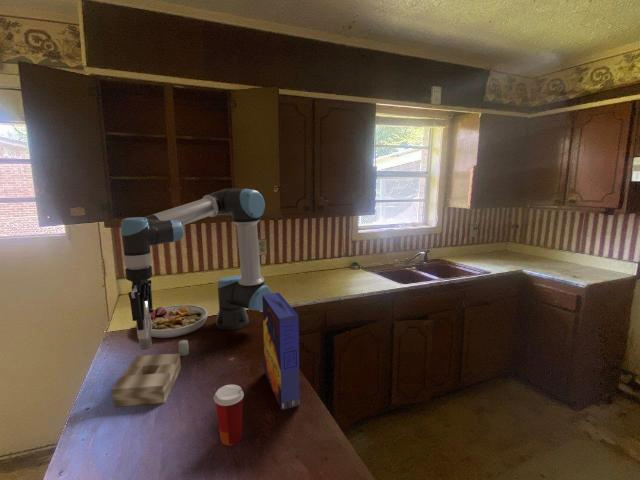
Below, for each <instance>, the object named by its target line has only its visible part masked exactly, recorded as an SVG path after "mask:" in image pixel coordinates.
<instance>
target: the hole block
mask: <svg viewBox="0 0 640 480" xmlns="http://www.w3.org/2000/svg"><path fill="white" fill-rule="evenodd" d="M181 368H182V365H181V356H180V353H179V352H178V353H167V354H166V353H165V354H150V355H136V356H135V358H134V359H133V360H132V361H131V363H130V364H129V366H128V367H127V368H126V369H125V371H124V372H123V373H122V374H121V376H120V377H119V379H118V380H117V382H116V383H115V384H114V386H113V387H112V388H111V395H112V396H111V397H112V402H113V404H112V405H113V407H114V408H117V407H127V406H129V407H130V406H139V405H140V406H141V405H144V406H145V405H153V404H155V405H156V404H163V403H164V404H165V403H166V400H167V399H168V396H169V395H170V392H171V390H172V389H173V386H174V384H175V383H176V379H177V378H178V375H179V373H180V372H181V370H182V369H181Z"/></svg>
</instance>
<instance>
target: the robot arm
mask: <svg viewBox="0 0 640 480" xmlns="http://www.w3.org/2000/svg"><path fill="white" fill-rule="evenodd" d="M265 208H266V204H265V199H264V196H263V195H262V194H261V193H260V192H259V190H256V189H251V188H225V189H222V190H218V191H214V192H212V193H209V194H206V195H204V196H202V198H200V199H198V200H195V201H192V202H191V201H190V202H188V203H185V204H182V205H179V206H175V207H172V208H169V209H166V210H163V211H160V212H157V213H153V214H150V215H146V216H144V217H141V216H139V217H126V218H123V219H122V220H121V221H120V236H121V240H122V241H121V243H122V249H123V257H122V259H123V261H124V266H125V270H124V271H125V279H126V280H127V281H129V282H131V283H132V284H131V291H129V292H128V295H127V296H128V297H129V301H130V311H131V317H132V321H133V322H136V323H135V324H136V334H137V339H138V340H139V339H145V338H148V336H147V325H146V319H144V300H148V308H149V318H150V329H151V332H152V326H151V315H150V313H153V310H151V309H154V308H153V295H152V294H153V293H152V280H151V278H152V277H153V267H152V266H153V265H152V255H151V253H152V252H151V246H157V245H162V244H169V243H174V242H178V241H181V240H182V238H183V237H184V227H183V226H185V225H188V224H190V223H193V222H197V221H199V220H201V219H205V218H207V217H211V218H214V217H217V216H231V217H232V222H233V224H234V225H236V230H237V232H236V233H237V243H238V254H239V255H238V256H239V265H240V275H239V274H238V275H237V274H235V275H230V276H229V275H228V276H224V277H222V278H219V280H218V282H217V297H218V312H217V315H216V319H215V320H216V321H215V325H216V327H217V328H218V329H219V330H220V329H221V330H225V331H233V330H239V329H241V328H243V327H246V326H247V325H248V324H249V316H248V314H247V311H246V309H249V310H251V311H257V312H259V311H261V310H262V311H263V298H262V295H264V294H269V293H272V290H271V288H270V287H269V286H268V285H266V282H265V278H264V276H262V275H261V273H262V271H261V261H260V260H261V258H260V249H259V248H260V246H259V233H258V223H259V222H260V221H261V216H263V214H264V212H265V210H266V209H265Z"/></svg>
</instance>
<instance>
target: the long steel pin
mask: <svg viewBox="0 0 640 480" xmlns="http://www.w3.org/2000/svg"><path fill="white" fill-rule="evenodd" d="M144 319H146V325H147V336H148V338H145V339H138V341H139V342H138V343H139V349H140V350H142V351H145V350H149V349H152V347H153V343H152V342H153V341H152V340H153V339H152V337H151V329H150V318H149V308H148V300H144Z"/></svg>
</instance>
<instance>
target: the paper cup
mask: <svg viewBox="0 0 640 480" xmlns="http://www.w3.org/2000/svg"><path fill="white" fill-rule="evenodd" d="M244 393H245V392H244V391H243V388H241V386H239V385H237V384H226V385H223V386H221V387H219V388H218V389H217V390H216V392H215V394H214V396H213V401H214V402H215V408H216V414H217V415H216V416H217V421H218V430H219V438H220V443H221V444H222V445H224V446H226V447H227V446H229V447H230V446H234V445H237V444H238V443H239V442H240V441H241V439H242V438H243V437H242V435H243V412H244V411H243V409H244V407H243V406H244V405H243V404H244V402H243V401H244V396H245V394H244Z"/></svg>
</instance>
